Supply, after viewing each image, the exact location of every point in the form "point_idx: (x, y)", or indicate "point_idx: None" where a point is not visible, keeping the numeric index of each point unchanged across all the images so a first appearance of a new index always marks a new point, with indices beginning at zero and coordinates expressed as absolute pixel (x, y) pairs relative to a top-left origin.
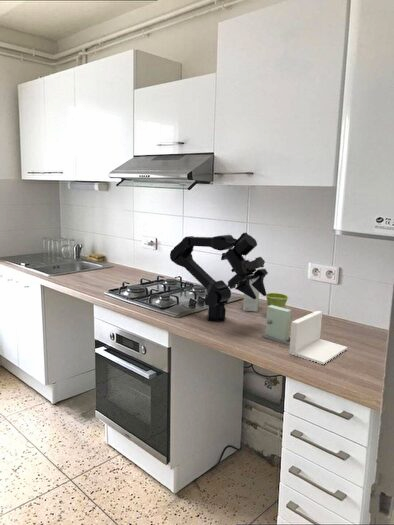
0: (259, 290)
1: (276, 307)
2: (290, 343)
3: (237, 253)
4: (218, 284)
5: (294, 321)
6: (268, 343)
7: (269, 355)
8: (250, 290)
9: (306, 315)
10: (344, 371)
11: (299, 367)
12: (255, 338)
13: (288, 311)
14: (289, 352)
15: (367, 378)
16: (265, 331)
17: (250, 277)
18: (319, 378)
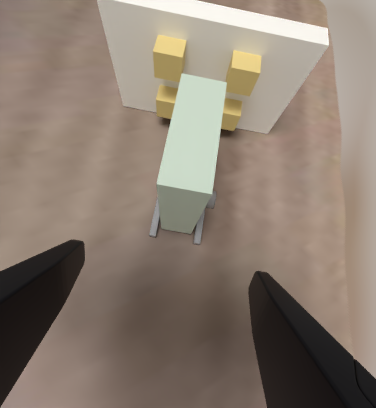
0: (27, 347)
1: (192, 143)
2: (282, 112)
3: None
4: None
5: (317, 39)
6: (240, 202)
7: (314, 169)
8: (350, 361)
9: (204, 18)
10: None
11: (317, 98)
12: (230, 254)
13: (211, 80)
14: (268, 131)
15: (265, 5)
16: (192, 230)
17: None
18: (330, 62)
